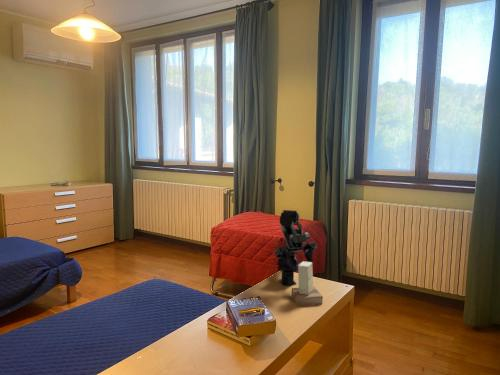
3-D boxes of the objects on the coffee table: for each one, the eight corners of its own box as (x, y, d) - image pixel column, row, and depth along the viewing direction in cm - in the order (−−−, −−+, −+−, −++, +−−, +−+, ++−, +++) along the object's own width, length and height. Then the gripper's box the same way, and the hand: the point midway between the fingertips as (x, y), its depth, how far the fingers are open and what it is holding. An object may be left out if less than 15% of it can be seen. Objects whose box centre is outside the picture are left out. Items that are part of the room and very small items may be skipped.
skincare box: (308, 295, 155) (308, 266, 153) (298, 293, 157) (297, 265, 155) (313, 289, 160) (312, 262, 159) (303, 288, 162) (302, 260, 161)
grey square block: (291, 297, 163) (291, 288, 162) (313, 295, 165) (313, 286, 164) (299, 307, 153) (299, 298, 153) (322, 305, 155) (322, 296, 155)
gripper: (279, 228, 160) (291, 261, 152) (315, 224, 168) (329, 256, 160) (269, 240, 169) (281, 273, 160) (304, 237, 177) (317, 267, 168)
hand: (302, 267), depth 162 cm, fingers open, 9 cm apart
